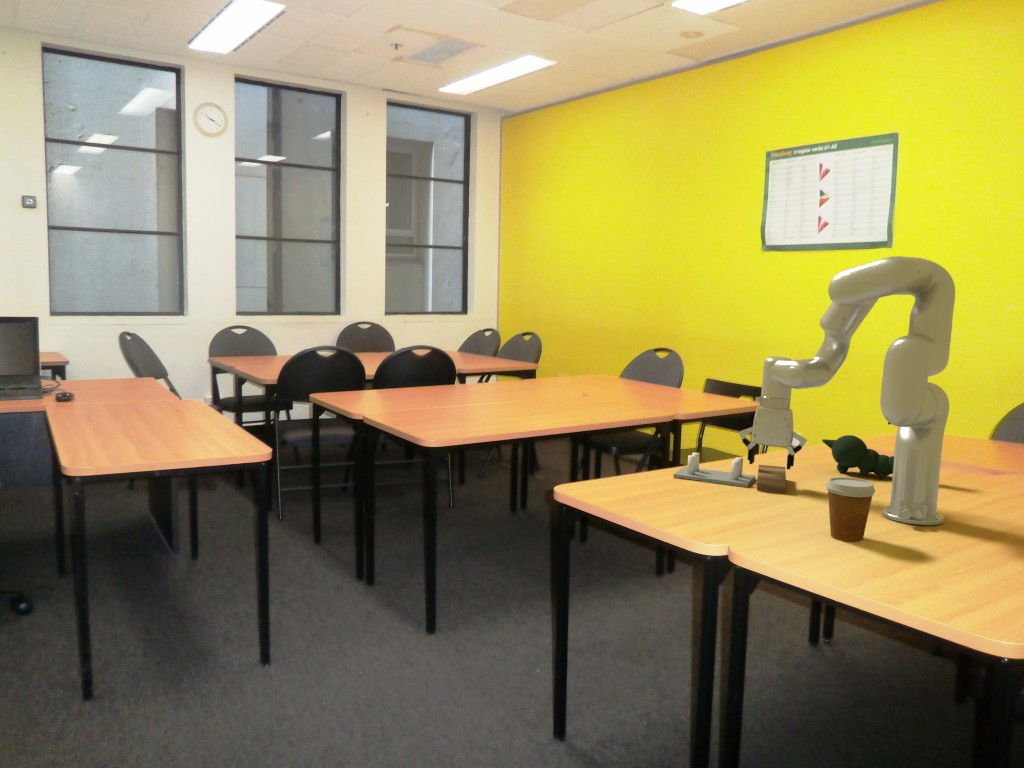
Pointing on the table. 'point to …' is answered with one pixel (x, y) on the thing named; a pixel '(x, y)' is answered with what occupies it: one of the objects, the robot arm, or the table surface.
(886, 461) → the toy figurine
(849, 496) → the disposable coffee cup
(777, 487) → the shelf plank
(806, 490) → the table surface
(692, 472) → the peg rack
